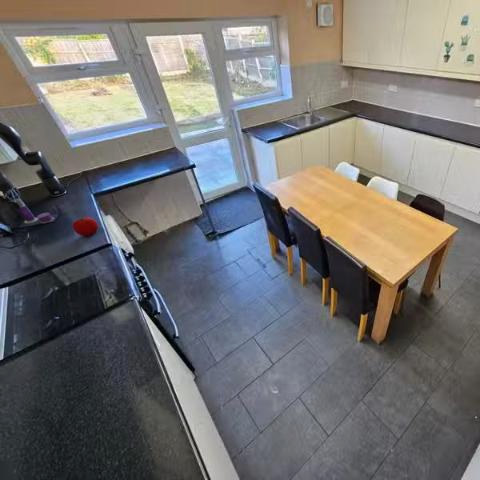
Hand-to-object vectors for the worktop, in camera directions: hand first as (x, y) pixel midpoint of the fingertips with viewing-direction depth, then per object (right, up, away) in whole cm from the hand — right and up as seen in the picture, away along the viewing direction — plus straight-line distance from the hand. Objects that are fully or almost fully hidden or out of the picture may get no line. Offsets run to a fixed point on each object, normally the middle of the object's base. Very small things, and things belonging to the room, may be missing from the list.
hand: (20, 206), depth 174 cm
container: (0, -8, +6) cm, 11 cm away
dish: (+11, -9, +6) cm, 15 cm away
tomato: (+51, -18, -6) cm, 54 cm away
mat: (+6, -9, +7) cm, 13 cm away
